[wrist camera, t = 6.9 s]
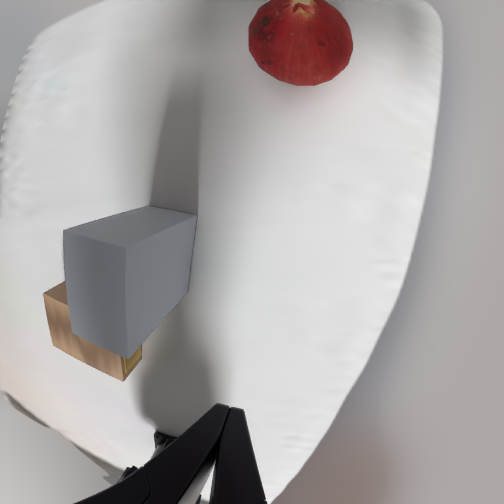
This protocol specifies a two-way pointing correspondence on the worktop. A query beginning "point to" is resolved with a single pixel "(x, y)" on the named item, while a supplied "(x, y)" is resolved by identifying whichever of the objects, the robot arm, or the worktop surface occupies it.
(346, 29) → the onion
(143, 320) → the grey block
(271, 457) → the worktop surface
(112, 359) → the walnut block
